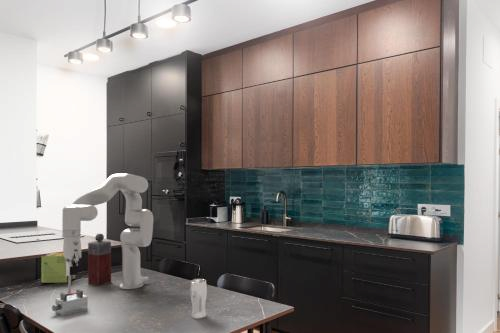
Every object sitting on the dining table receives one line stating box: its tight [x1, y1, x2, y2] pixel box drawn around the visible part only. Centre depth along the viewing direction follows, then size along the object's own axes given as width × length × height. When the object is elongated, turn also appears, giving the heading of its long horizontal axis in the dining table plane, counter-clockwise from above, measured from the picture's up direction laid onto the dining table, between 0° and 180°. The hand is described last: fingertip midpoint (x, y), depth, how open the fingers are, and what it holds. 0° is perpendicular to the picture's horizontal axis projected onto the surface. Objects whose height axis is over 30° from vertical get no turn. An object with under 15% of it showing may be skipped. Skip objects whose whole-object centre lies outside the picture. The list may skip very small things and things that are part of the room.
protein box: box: [40, 252, 76, 284], centre depth 229 cm, size 10×15×16 cm
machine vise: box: [51, 288, 89, 317], centre depth 173 cm, size 13×8×8 cm, turn 135°
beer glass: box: [189, 278, 208, 320], centre depth 165 cm, size 7×7×15 cm
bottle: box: [66, 258, 74, 276], centre depth 175 cm, size 4×4×7 cm
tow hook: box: [66, 276, 76, 296], centre depth 197 cm, size 8×13×9 cm
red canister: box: [87, 233, 112, 286], centre depth 223 cm, size 9×11×28 cm
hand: (71, 273), depth 175 cm, fingers closed on bottle, 4 cm apart
